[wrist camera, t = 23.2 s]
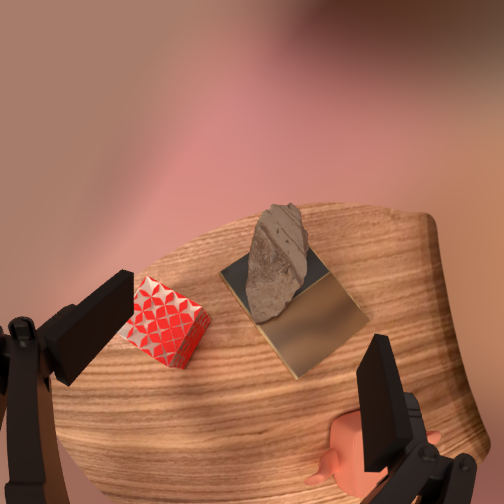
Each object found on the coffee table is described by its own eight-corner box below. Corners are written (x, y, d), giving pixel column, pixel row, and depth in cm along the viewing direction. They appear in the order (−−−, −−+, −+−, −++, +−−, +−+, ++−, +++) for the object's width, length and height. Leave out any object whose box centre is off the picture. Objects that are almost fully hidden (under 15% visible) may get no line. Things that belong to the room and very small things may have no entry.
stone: (272, 210, 46) (226, 211, 39) (324, 198, 41) (284, 194, 33) (288, 308, 46) (246, 327, 39) (341, 306, 41) (306, 329, 33)
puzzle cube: (211, 319, 41) (202, 306, 34) (183, 369, 38) (168, 367, 31) (163, 292, 43) (145, 274, 35) (136, 339, 40) (112, 330, 32)
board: (218, 275, 44) (217, 272, 42) (291, 228, 46) (292, 223, 45) (295, 380, 38) (297, 380, 36) (367, 322, 41) (371, 320, 39)
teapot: (415, 461, 32) (453, 476, 22) (297, 494, 31) (309, 526, 21) (410, 393, 36) (450, 393, 27) (288, 421, 36) (300, 436, 26)
